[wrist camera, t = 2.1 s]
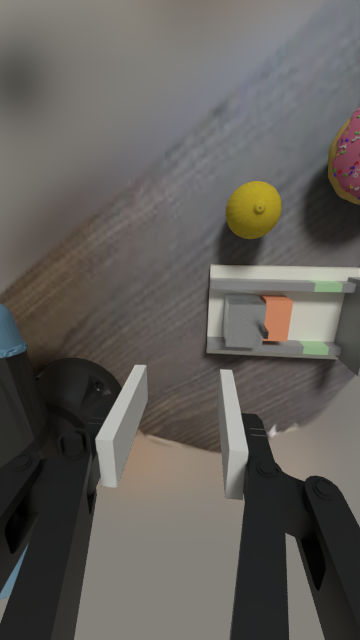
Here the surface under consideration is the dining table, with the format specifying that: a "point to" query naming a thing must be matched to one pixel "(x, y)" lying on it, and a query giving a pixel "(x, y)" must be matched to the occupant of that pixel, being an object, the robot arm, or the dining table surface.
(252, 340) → the gauge plunger
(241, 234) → the lemon
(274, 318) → the orange block
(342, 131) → the cupcake
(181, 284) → the dining table surface
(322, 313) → the board
